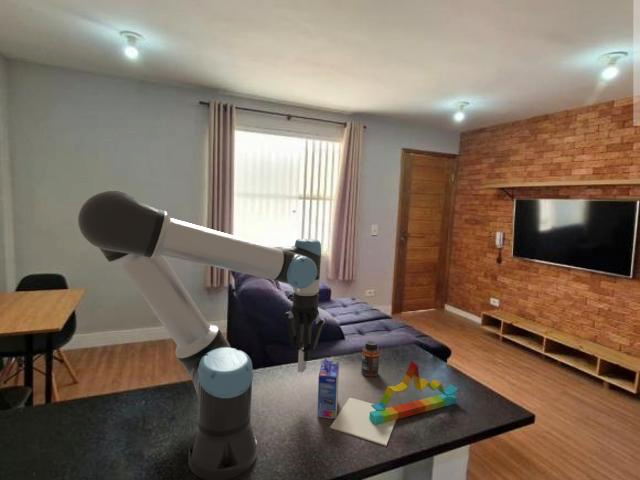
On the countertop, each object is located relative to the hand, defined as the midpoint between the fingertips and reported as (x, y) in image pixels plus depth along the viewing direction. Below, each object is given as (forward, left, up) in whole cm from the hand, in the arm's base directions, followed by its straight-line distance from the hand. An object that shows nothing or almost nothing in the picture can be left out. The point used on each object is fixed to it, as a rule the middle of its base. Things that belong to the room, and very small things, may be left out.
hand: (302, 370), depth 104 cm
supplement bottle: (+14, +27, -10) cm, 32 cm away
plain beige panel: (+20, 0, -9) cm, 22 cm away
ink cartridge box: (+9, 0, -10) cm, 13 cm away
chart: (+32, +11, -9) cm, 35 cm away
